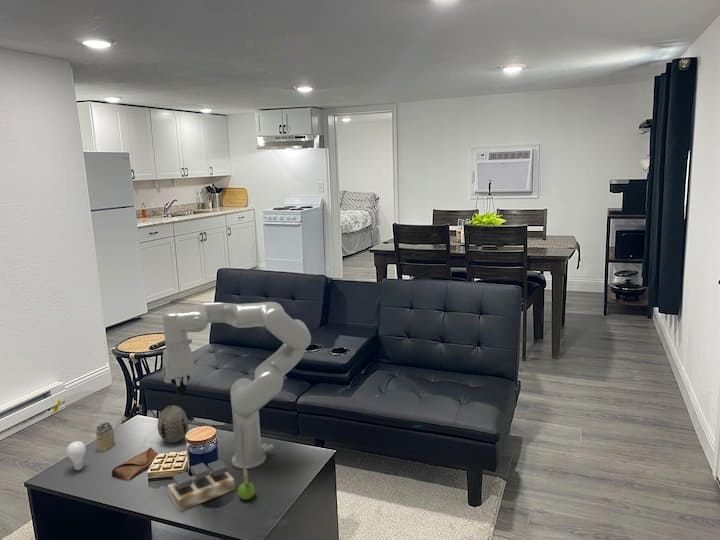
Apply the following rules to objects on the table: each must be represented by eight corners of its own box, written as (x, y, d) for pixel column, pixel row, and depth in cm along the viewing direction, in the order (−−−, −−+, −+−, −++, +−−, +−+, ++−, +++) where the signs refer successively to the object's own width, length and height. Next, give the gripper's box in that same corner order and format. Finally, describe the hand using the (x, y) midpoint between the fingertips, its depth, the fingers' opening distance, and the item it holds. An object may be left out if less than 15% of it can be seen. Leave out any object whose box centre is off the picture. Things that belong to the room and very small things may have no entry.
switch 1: (186, 480, 188) (185, 471, 187) (193, 488, 183) (192, 479, 183) (173, 485, 186) (172, 476, 185) (179, 493, 181) (178, 484, 180)
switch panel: (222, 475, 199) (221, 465, 198) (235, 489, 190) (234, 478, 189) (168, 495, 188) (167, 484, 187) (179, 511, 179) (178, 499, 178)
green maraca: (239, 506, 181) (236, 472, 178) (238, 495, 187) (235, 462, 184) (256, 502, 182) (254, 469, 180) (254, 492, 188) (252, 459, 186)
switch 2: (220, 468, 195) (219, 459, 194) (227, 476, 190) (226, 466, 190) (208, 472, 192) (207, 463, 192) (215, 480, 188) (214, 471, 187)
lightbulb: (65, 473, 203) (61, 445, 201) (78, 464, 209) (74, 436, 207) (79, 475, 201) (75, 447, 199) (92, 466, 207) (88, 439, 205)
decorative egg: (195, 436, 228) (192, 402, 225) (176, 450, 217) (172, 414, 214) (173, 432, 232) (169, 398, 229) (152, 445, 222) (149, 410, 219)
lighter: (110, 442, 225) (107, 419, 223) (117, 444, 223) (114, 421, 221) (96, 450, 219) (92, 427, 217) (103, 452, 217) (100, 429, 215)
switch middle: (203, 471, 191) (202, 462, 191) (210, 479, 187) (209, 469, 186) (191, 475, 189) (190, 466, 188) (197, 483, 184) (196, 474, 183)
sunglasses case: (128, 482, 196) (119, 465, 196) (117, 487, 199) (109, 470, 200) (167, 458, 212) (159, 442, 212) (156, 463, 215) (148, 447, 216)
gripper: (194, 338, 201) (198, 386, 205) (151, 347, 193) (157, 397, 196) (201, 343, 195) (206, 392, 199) (158, 353, 187) (163, 404, 190)
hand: (181, 394), depth 197 cm, fingers closed
